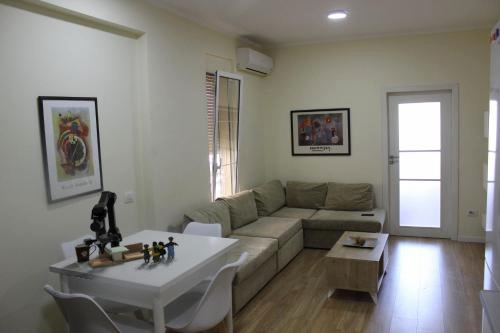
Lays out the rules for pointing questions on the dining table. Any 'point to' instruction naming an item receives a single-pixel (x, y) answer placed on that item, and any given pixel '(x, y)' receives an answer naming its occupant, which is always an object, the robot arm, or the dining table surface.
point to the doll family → (159, 250)
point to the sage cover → (116, 249)
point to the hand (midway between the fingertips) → (102, 254)
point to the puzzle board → (129, 255)
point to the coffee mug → (83, 252)
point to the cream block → (117, 256)
